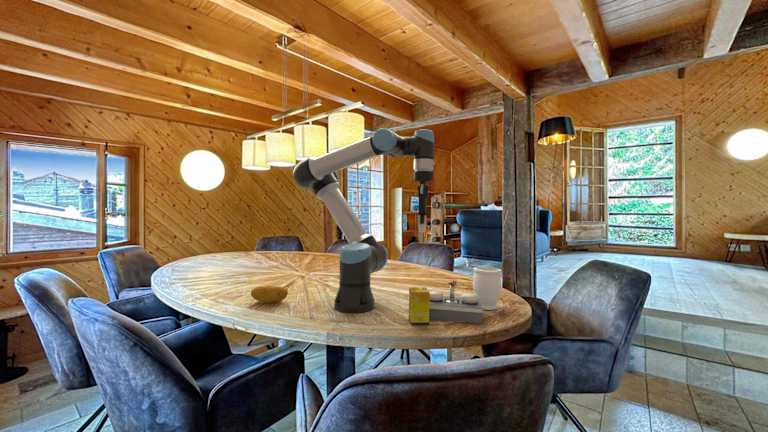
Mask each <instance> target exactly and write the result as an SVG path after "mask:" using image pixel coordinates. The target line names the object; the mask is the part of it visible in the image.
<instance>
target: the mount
mask: <svg viewBox="0 0 768 432" xmlns="http://www.w3.org/2000/svg"><path fill="white" fill-rule="evenodd" d="M449 299H450V295H443V300H440V302H432V301H430V303H429V320H438V319H439V321H449V320H450V321H451V322H460V321H462V322H461V323H474V324H483V312H484V310H483V308H482V304H481V301H480V299H478V302H477V303H475V305H470V304H464V302H462V301H461V296H454V300H457V301H458V304H457V303H446V300H449Z"/></svg>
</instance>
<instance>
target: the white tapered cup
mask: <svg viewBox="0 0 768 432" xmlns="http://www.w3.org/2000/svg"><path fill="white" fill-rule="evenodd" d="M472 270H473V273H474V274H473V279H472V288H473V294H476V295H478V299H480V301H481V304H482V308H483V311H486V310H487V311H495V310H497V309H498V305H497V304H498V302H499V299H500V294H501V288H502V279H501V273H502V269H500V268H497V267H494V266H493V267H492V266H483V265H482V266H480V265H479V266H474V267H473V269H472Z"/></svg>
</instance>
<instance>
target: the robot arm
mask: <svg viewBox="0 0 768 432" xmlns="http://www.w3.org/2000/svg"><path fill="white" fill-rule="evenodd" d="M434 154H435V133H434V131H433V130H431V129H426V128H425V129H418V130H415V131H414V134H413V136H401V135H399V134H398V133H395V132H394V131H393V130H391V129H388V128H386V127H384V128H383V127H381V128H379V129H377V130H376V131H375V132H374V133H373V135H371V136H369V137H366V138H364V139H361V140H359V141H356V142H353V143H351V144H349V145H346V146H343V147H340V148H338V149H335V150H333V151H331V152H328V153H326V154H324V155H323V154H322V155H320V156H318V157H316V156H310V157H308V158H306V159H304V160H301V161H299V162H298V163H297V164H296V165H295V167H294V168H293V171H292V177H293V180H294V183H295V184H296V185H297V186H298V187H299V188H301V189H304V190H311V191H312V193H313V194H314V196H315V198H316V199H318V200H321V201H322V202H323V204H324V205H325V207H326V208H327V210H328V211H329V213H330V214H331V216H332V218H333V220H334V221H335V223H336V224H337V226H338V228H339V229H340V231H341V233H342V234H343V235H344V237H345V239H346V240H347V242H348V243H347V244H345V245H343V246H342V247H340V250H339V252H340V253H339V258H338V260H339V285H338V290H337V292H336V295H335V298H334V306H333V307H334V309H336V310H337V311H339V312H344V313H354V314H355V313H364V312H369V311H371V310H373V309H375V306H376V305H375V304H376V303H375V301H376V300H375V298H374V294H373V291H372V288H371V274H374V273H376V272H379V271H380V270H382V269H383V268H384V267H385V266H386V264H387V262H388V260H389V259H388V258H389V254H388V250H387V248H386V247H385V246H384V245H383V244H382V243H379V242H377V240H376V238H375V237H374V235H373V234H368V233H367V231H366V230H365V228H364V226H363V225H362V223H361V222H360V220H359V218H358V216H356V213H355V212H354V211H353V209H352V208H351V206H350V205H349V203H348V201H347V200H346V198H345V197H344V195H343V194H342V193H341V190H340V185H341V184H340V182H339V175H338V172H339V171H342V170H343V169H347V168H349V167H352V166H355V165H357V164H360V163H363V162H365V161H368V160H370V159H371V160H372V159H374V158H375V157H376V158H377V157H379V156H381V155H385V156H386V157H389V158H400V157H413V171H414V172H413V181H414V182H419V185H417V192H418V193H417V198H418V212H417V213H416V215H417V216H418V228H417V229H418V230H417V231H418V233H427V232H426V231H427V216H429V214H428V213H427V209H428V208H427V205H428V204H427V203H428V197H429V189H430V188H429V185H428V183H431V182H433V181H434V172H433V170H434V165H436V162H435V161H434V157H435V156H434Z"/></svg>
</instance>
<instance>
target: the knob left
mask: <svg viewBox="0 0 768 432" xmlns="http://www.w3.org/2000/svg"><path fill="white" fill-rule="evenodd" d="M428 291H429V292H430V301H432V302H440V300H443V296H444V292H442V291H438V290H428Z"/></svg>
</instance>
